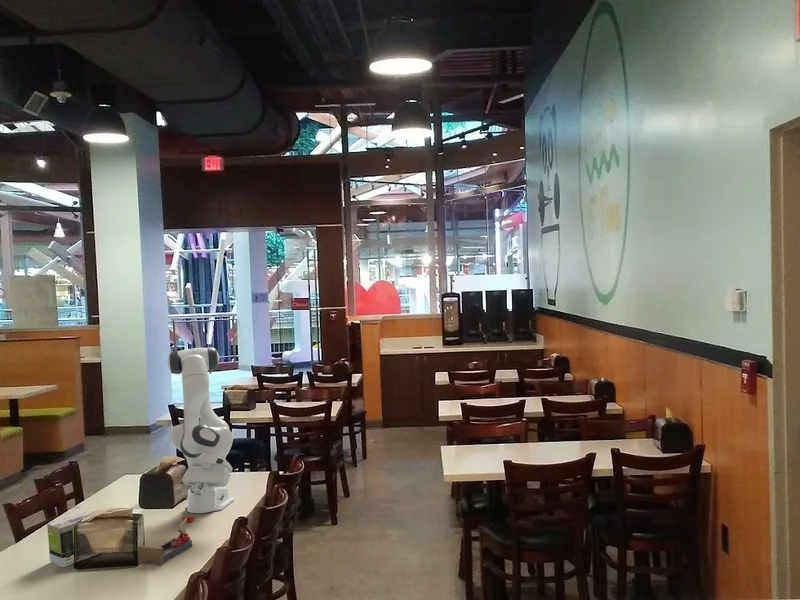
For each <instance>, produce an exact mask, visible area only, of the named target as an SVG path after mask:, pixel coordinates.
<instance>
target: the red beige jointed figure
mask: <svg viewBox="0 0 800 600" xmlns="http://www.w3.org/2000/svg"><path fill="white" fill-rule="evenodd" d="M193 522H195V516H191V515H190V516H183V517H182V522H181V523H180V524H178V526H177V529H176V530H177V531H178V532H179V535H178V536H177V537H176V538H175V537H173V538H172V540H171V539H170V540H171V548H170V550H172V549H174V548H175V547H177V546H179V545H181V544H182V543H184V542H186V541H188V540H191V537H190V536H189V534H188V533H187V532H186V530H185V528H184V526H185V525H186V524H192V523H193Z"/></svg>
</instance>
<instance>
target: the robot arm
mask: <svg viewBox="0 0 800 600" xmlns="http://www.w3.org/2000/svg"><path fill="white" fill-rule="evenodd" d="M170 352H171V351H170ZM219 362H220V355H219V353H218V351H217V349H216V348H215V347H210V346H209V347H194V348H193V347H192V348H187V349H181V350H174V351H172V352H171V353H170V354H169V356H168V358H167V367H168V369H169V370H170V372H171V373H172V374H174V375H181V384H182V393H183V394H182V396H183V398H182V399H183V423H180V424H177V425H174V426H173V427H172V428H171V429H170V432H169V441H170V444H171V446H173V447H174V448H175V449H177V450H178V451H180V452H181V453H182V454H183V455H184V458H185V459H186V462H187V466H188V468H187V469H186V470H185V472H184V474H183V476H182V478H181V481H182V483H183V484H184V485H185V486H188V487H189V488H188V490H187V504H185V508H186V509H187V510H186V511H187V512H189V513H191V514H205V513H209V512H215V511H218V512H219V511H222V510H224V508H226V507H227V506H229V505H230V504H231V503H232V502H234V501H235V498H234V497H232V496H229V492H228V491H229V490H228V488H227V487H226V486H228V484H229V481H230V479H231V475H232V474H231V473H232V471H233V467H232V465H231V463H230V462H228V460H226V457H227V455H228V454H229V453H230V450H231V448H232V445H233V441H234V434H233V432H232V431H231V430H230V426H229V424H228V423H227V422H226V421H225V420H224V419H221V417H219V416H218V415H217V414H216V413H215V411H214V409H213V407H212V404H211V399H210V398H211V397H210V376H209V375H211V374H212V372H214V371H215V370H216V369H217V368H218V367H219Z"/></svg>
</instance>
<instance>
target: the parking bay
mask: <svg viewBox="0 0 800 600" xmlns="http://www.w3.org/2000/svg"><path fill="white" fill-rule="evenodd" d="M172 539H173V538H172ZM172 539H169V540H168V541H166V542H164V543H162V544H160V545H158V546H152V545H141V544H140V545H138V546H137V557H138V556H139V562H140V563H139V562H138V563H139V564H142V565H143V564H144V565H150V566H151V565H152V566H159V567H162V566H164V565H165V563H166V562H168V561H170V560H172V559H173V558H175V557H176V555H177V556H178V555H180V554H182V553H184V552H185V551H187V550H189V549H190V548H192V547H193V540H192V539H190V540H188V541H186V542H184V543H182V544H181V545H179V546H177V547H175V548H174V549H172V550H171V540H172ZM166 550H167V551H166ZM168 550H169V551H168Z"/></svg>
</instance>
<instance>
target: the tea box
mask: <svg viewBox="0 0 800 600" xmlns="http://www.w3.org/2000/svg"><path fill="white" fill-rule="evenodd" d="M90 515H92V514H90V513H87V512H84V513H80V514H77V515H74V516H70V517H68V518H67V517H66V518H63V519H61V520H57V521H54V522H51V523H48V524H47V527H46V528H47V538H48V550H49V551H48V553H49V561H50V563H51V564H53V563H54V564H53V565H55V564H56V565H55V566H57V565H58V566H57V567H60V568H62V567H63V568H65V567H69V566H71V565H74V564H73V559H74V526H75V524H76V523H77V522H78V521H80V520H81V519H84V518H86V517H88V516H90Z"/></svg>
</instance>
